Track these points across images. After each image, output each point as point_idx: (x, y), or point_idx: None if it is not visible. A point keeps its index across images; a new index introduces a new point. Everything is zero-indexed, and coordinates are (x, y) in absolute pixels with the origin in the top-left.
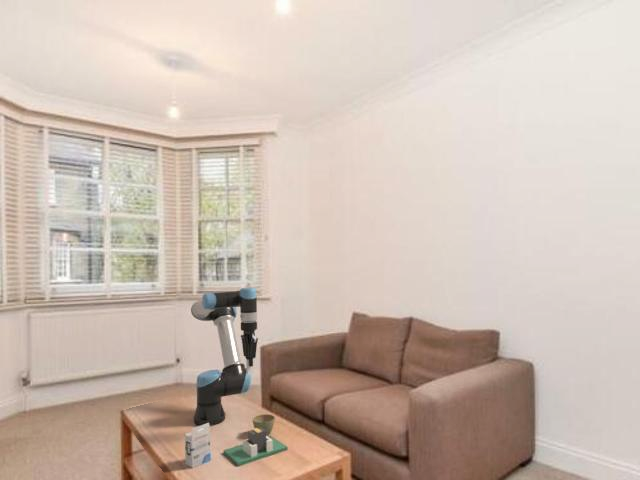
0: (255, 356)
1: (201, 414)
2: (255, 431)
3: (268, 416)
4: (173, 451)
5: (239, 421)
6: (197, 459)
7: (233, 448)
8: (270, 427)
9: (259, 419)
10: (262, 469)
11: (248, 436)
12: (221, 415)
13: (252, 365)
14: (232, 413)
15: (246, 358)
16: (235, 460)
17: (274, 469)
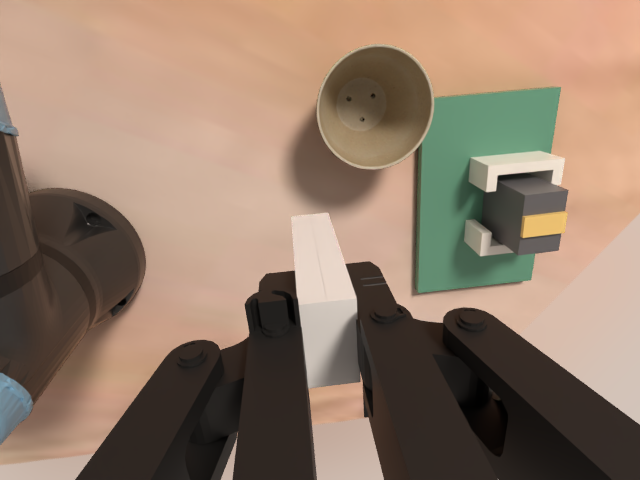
0: (500, 325)
1: (104, 319)
2: (547, 233)
3: (340, 63)
4: None
5: (151, 144)
6: None
7: (428, 263)
8: (416, 92)
9: (321, 111)
10: (596, 223)
11: (509, 247)
12: (88, 219)
13: (374, 270)
14: (16, 136)
15: (366, 412)
16: (510, 281)
17: (625, 192)
